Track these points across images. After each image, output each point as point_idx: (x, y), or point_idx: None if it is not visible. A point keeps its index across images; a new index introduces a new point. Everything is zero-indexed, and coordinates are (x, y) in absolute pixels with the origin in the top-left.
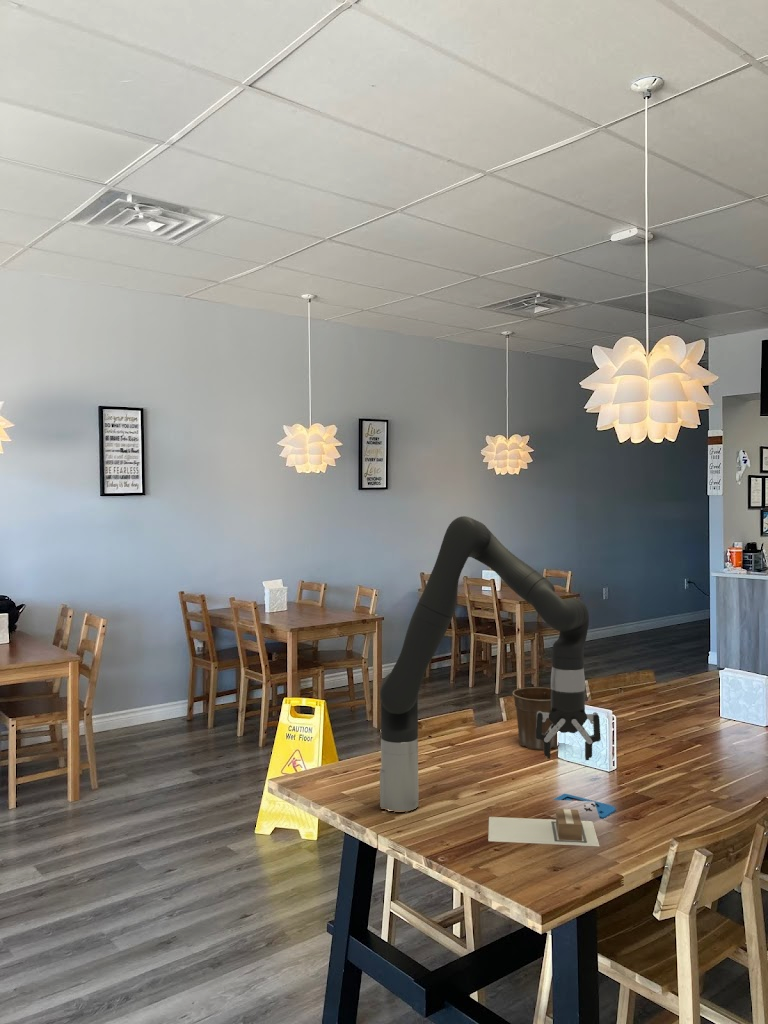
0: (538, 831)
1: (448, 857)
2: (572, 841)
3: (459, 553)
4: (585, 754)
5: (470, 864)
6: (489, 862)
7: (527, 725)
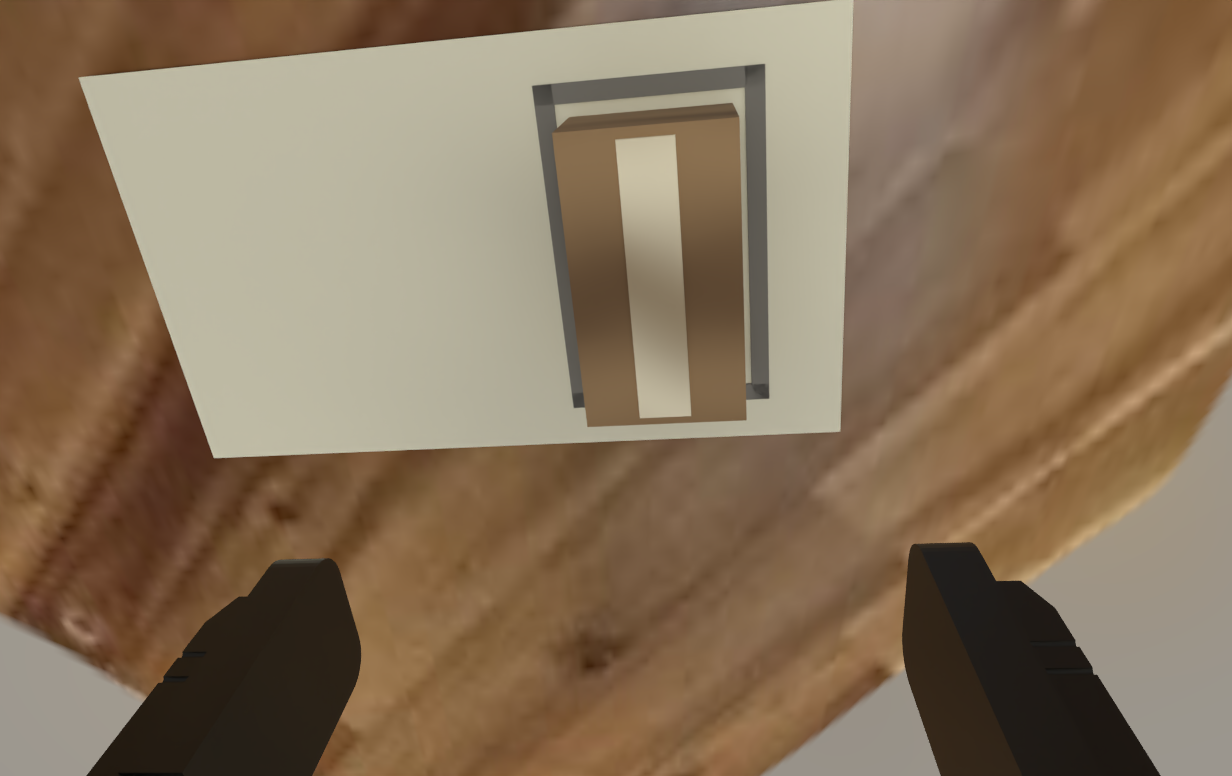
0: (463, 281)
1: (103, 613)
2: None
3: None
4: (928, 647)
5: None
6: None
7: None
